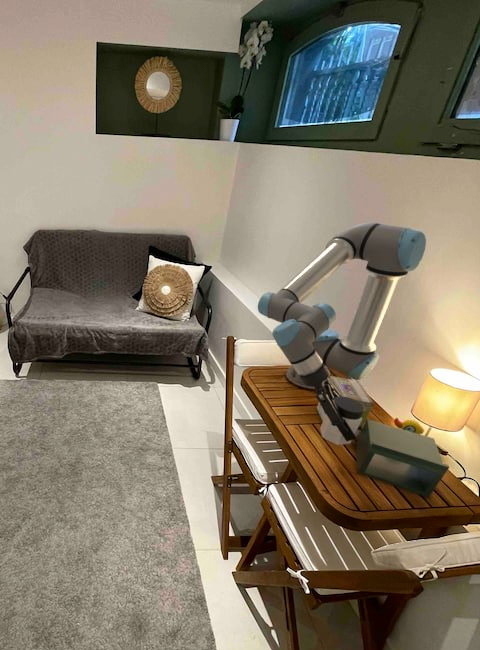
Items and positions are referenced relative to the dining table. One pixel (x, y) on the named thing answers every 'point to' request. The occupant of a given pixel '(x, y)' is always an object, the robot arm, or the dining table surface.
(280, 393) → the dining table surface
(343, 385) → the tea box
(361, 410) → the jar
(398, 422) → the duckling
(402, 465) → the shelf
